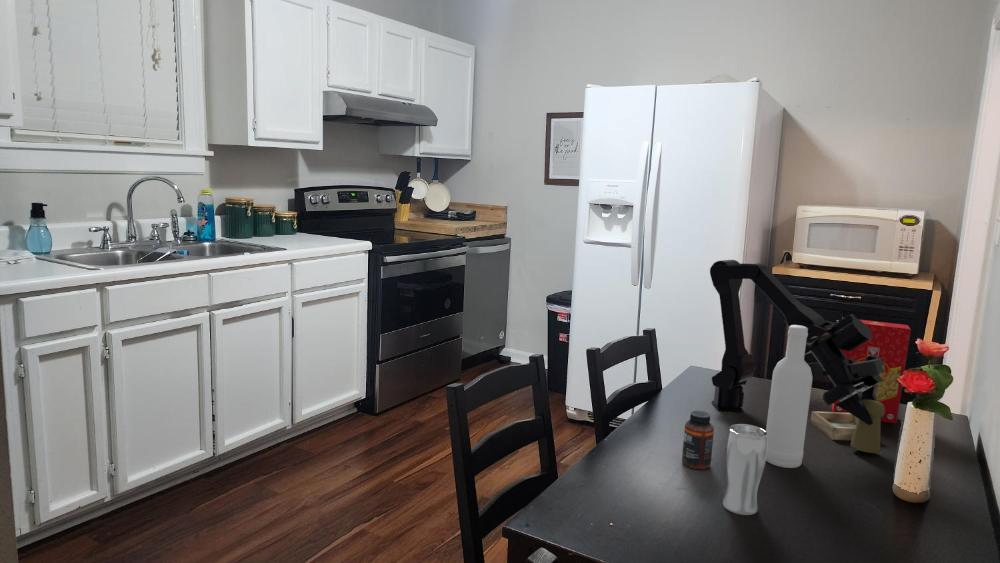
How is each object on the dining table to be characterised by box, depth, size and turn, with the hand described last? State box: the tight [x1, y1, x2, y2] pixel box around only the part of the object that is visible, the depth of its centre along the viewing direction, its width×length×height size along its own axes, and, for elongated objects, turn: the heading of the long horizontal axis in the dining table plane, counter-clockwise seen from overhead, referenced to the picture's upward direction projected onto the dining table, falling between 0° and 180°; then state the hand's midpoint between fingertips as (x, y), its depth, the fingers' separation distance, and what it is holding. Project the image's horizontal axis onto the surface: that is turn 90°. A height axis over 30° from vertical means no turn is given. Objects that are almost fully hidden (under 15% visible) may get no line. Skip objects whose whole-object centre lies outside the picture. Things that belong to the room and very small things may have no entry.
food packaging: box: [831, 319, 912, 424], centre depth 176 cm, size 15×5×25 cm, turn 67°
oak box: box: [810, 410, 858, 441], centre depth 165 cm, size 11×11×3 cm
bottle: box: [765, 325, 813, 469], centre depth 144 cm, size 8×8×30 cm
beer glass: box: [722, 423, 768, 516], centre depth 124 cm, size 7×7×15 cm
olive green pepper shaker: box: [850, 400, 885, 454], centre depth 152 cm, size 6×6×11 cm
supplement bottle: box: [681, 410, 715, 470], centre depth 142 cm, size 6×6×11 cm
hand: (876, 421), depth 151 cm, fingers closed on olive green pepper shaker, 5 cm apart
